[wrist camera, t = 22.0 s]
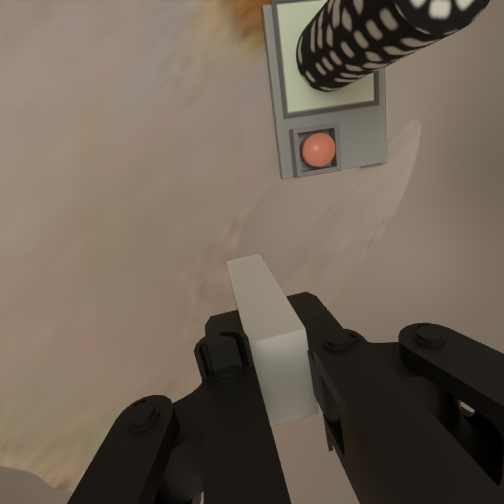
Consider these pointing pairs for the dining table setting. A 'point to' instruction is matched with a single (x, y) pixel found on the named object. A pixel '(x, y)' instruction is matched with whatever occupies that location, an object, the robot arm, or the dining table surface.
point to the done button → (317, 149)
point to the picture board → (319, 100)
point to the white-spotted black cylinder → (374, 36)
